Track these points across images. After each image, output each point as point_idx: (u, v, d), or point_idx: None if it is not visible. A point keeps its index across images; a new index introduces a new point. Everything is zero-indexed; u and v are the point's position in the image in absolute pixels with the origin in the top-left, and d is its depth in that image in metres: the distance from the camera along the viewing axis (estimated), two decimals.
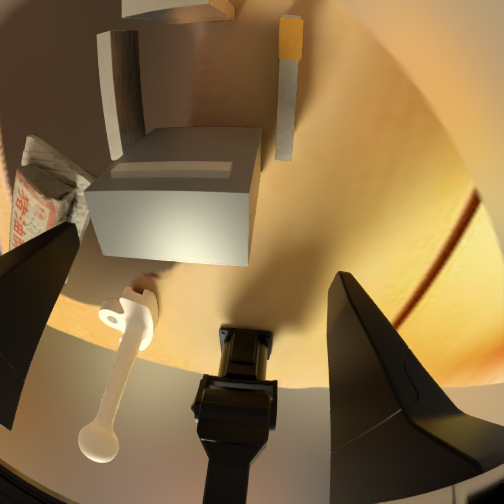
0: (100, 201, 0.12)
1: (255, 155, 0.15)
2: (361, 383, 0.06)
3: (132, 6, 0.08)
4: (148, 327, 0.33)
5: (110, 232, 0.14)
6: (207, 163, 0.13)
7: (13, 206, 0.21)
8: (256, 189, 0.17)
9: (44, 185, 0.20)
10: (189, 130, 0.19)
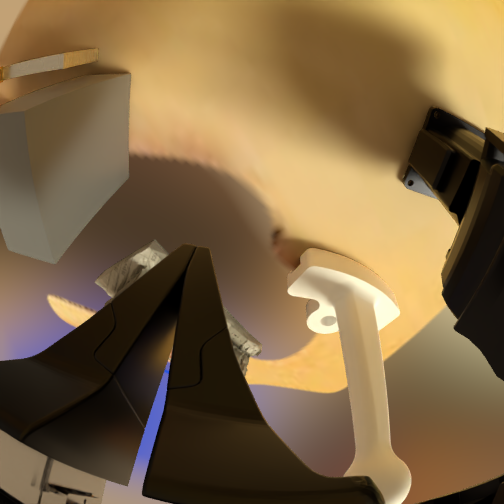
0: (9, 239, 0.12)
1: (31, 93, 0.11)
2: None
3: None
4: (353, 283, 0.23)
5: (29, 243, 0.12)
6: None
7: None
8: (72, 85, 0.12)
9: None
10: None
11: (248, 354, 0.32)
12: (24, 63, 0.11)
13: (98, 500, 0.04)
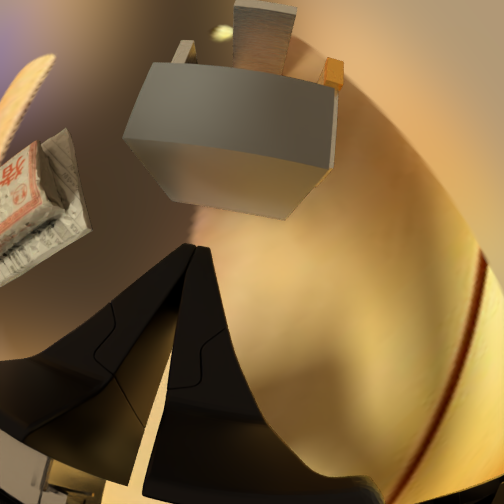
0: (168, 72, 0.10)
1: None
2: None
3: (243, 2, 0.14)
4: None
5: (157, 105, 0.10)
6: None
7: None
8: None
9: (45, 176, 0.17)
10: None
11: None
12: (335, 118, 0.17)
13: (98, 500, 0.04)
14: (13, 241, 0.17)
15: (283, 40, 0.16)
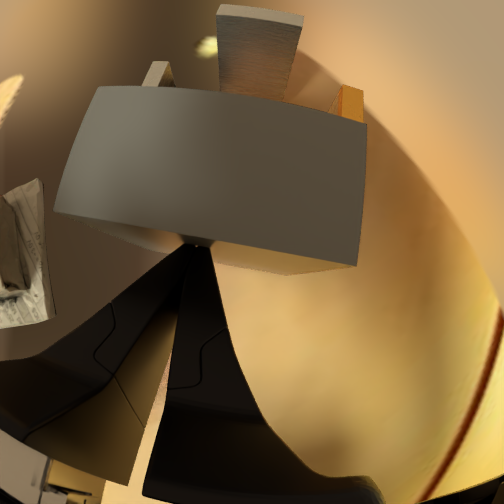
0: (116, 100, 0.07)
1: None
2: None
3: (229, 10, 0.10)
4: None
5: (97, 157, 0.07)
6: None
7: None
8: None
9: (4, 249, 0.13)
10: None
11: None
12: None
13: (98, 500, 0.04)
14: None
15: (284, 61, 0.13)
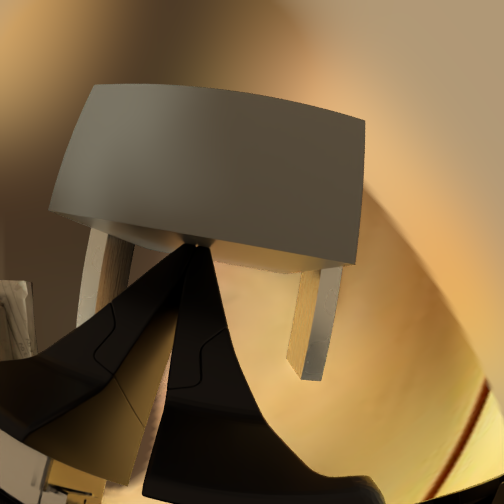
0: (112, 99, 0.07)
1: None
2: None
3: None
4: None
5: (93, 155, 0.07)
6: None
7: None
8: None
9: None
10: None
11: None
12: (334, 303, 0.13)
13: (98, 500, 0.04)
14: None
15: None
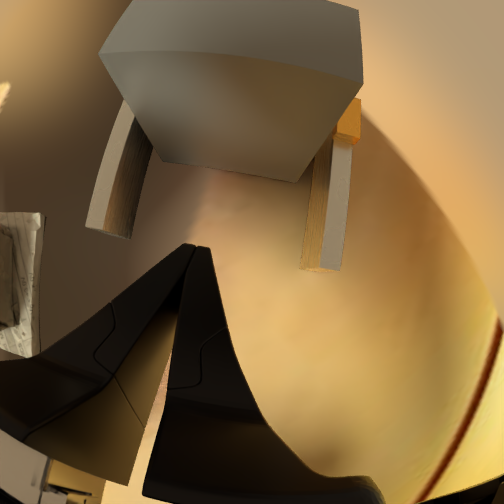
0: None
1: None
2: None
3: None
4: None
5: (144, 19, 0.07)
6: None
7: None
8: None
9: None
10: None
11: None
12: (346, 191, 0.13)
13: (98, 500, 0.04)
14: None
15: None
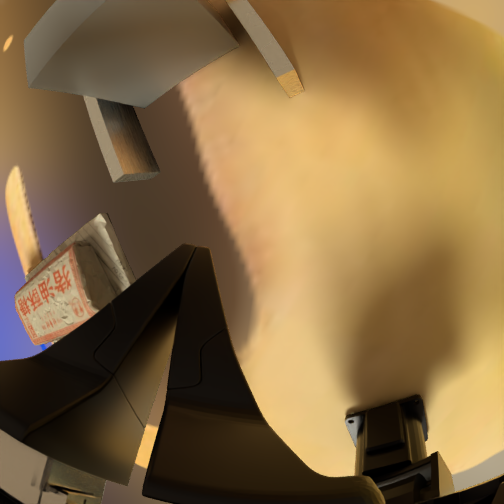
0: (33, 34, 0.08)
1: None
2: None
3: None
4: None
5: (36, 52, 0.08)
6: None
7: (49, 269, 0.21)
8: None
9: (95, 286, 0.20)
10: None
11: None
12: (257, 18, 0.11)
13: (98, 500, 0.04)
14: None
15: None
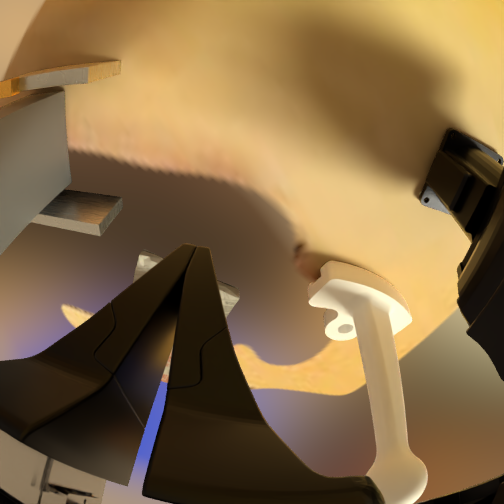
0: None
1: None
2: None
3: None
4: (370, 294, 0.23)
5: None
6: None
7: None
8: (10, 109, 0.12)
9: None
10: None
11: None
12: (43, 75, 0.12)
13: (98, 500, 0.04)
14: None
15: None
